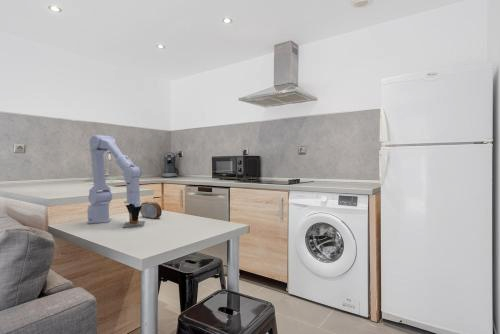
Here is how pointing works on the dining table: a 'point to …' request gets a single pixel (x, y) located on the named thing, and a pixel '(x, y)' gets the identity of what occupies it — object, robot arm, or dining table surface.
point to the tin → (150, 210)
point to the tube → (132, 220)
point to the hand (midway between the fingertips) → (134, 219)
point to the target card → (128, 225)
